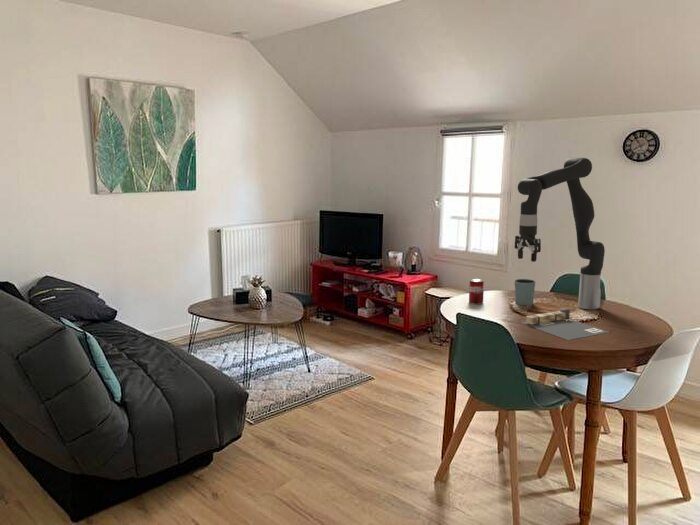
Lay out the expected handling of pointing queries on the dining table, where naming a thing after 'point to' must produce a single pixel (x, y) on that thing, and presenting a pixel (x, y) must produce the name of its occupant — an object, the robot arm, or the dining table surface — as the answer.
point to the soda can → (476, 291)
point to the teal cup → (524, 291)
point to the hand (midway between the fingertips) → (526, 259)
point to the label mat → (567, 329)
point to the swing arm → (548, 316)
